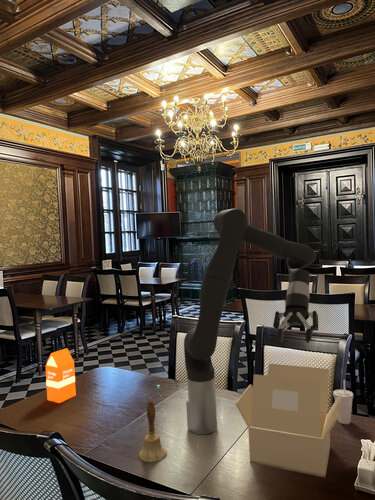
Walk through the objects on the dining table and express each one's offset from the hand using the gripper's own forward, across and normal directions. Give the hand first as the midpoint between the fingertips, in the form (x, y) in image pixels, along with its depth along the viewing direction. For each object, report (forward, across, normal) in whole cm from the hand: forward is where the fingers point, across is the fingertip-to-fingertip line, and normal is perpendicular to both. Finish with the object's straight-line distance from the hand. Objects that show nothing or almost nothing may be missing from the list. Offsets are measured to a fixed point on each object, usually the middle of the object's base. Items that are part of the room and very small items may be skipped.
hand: (293, 341), depth 122 cm
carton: (+28, -1, +11) cm, 30 cm away
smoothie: (+16, +10, +29) cm, 34 cm away
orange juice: (+26, -98, +4) cm, 101 cm away
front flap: (+22, +1, -7) cm, 23 cm away
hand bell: (+41, -36, -8) cm, 55 cm away
